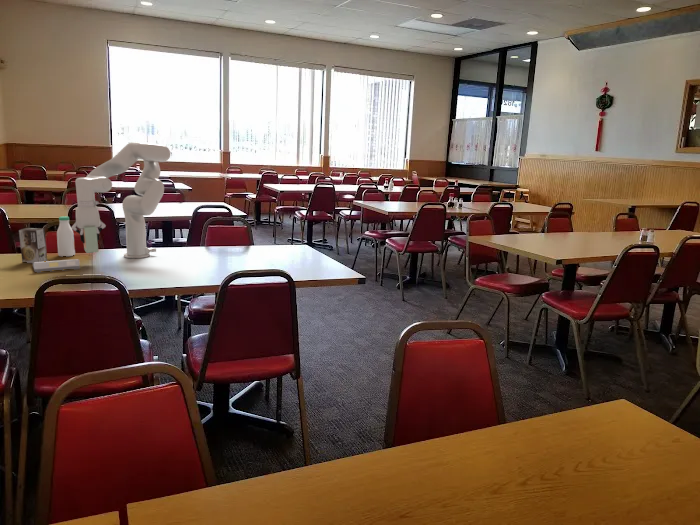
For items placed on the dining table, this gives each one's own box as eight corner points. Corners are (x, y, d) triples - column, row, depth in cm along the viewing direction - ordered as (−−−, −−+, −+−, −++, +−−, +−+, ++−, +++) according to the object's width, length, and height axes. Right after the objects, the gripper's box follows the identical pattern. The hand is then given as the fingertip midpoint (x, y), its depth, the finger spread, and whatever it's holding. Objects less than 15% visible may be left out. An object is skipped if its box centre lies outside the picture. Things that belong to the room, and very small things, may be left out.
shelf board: (75, 262, 263) (74, 253, 262) (79, 269, 251) (79, 259, 250) (32, 266, 253) (31, 256, 252) (35, 272, 241) (34, 262, 240)
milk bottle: (74, 256, 277) (71, 217, 273) (57, 257, 274) (54, 217, 270) (75, 253, 284) (73, 215, 280) (59, 254, 281) (56, 216, 277)
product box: (95, 248, 264) (93, 224, 262) (98, 252, 258) (96, 227, 255) (83, 250, 262) (81, 225, 259) (86, 253, 255) (84, 228, 252)
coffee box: (48, 261, 265) (45, 228, 262) (39, 263, 259) (36, 230, 255) (30, 260, 266) (27, 227, 262) (21, 262, 259) (18, 229, 256)
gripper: (104, 202, 262) (108, 239, 266) (65, 204, 253) (69, 242, 257) (107, 204, 256) (110, 241, 260) (67, 206, 247) (71, 245, 251)
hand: (90, 241), depth 259 cm, fingers closed on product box, 5 cm apart
